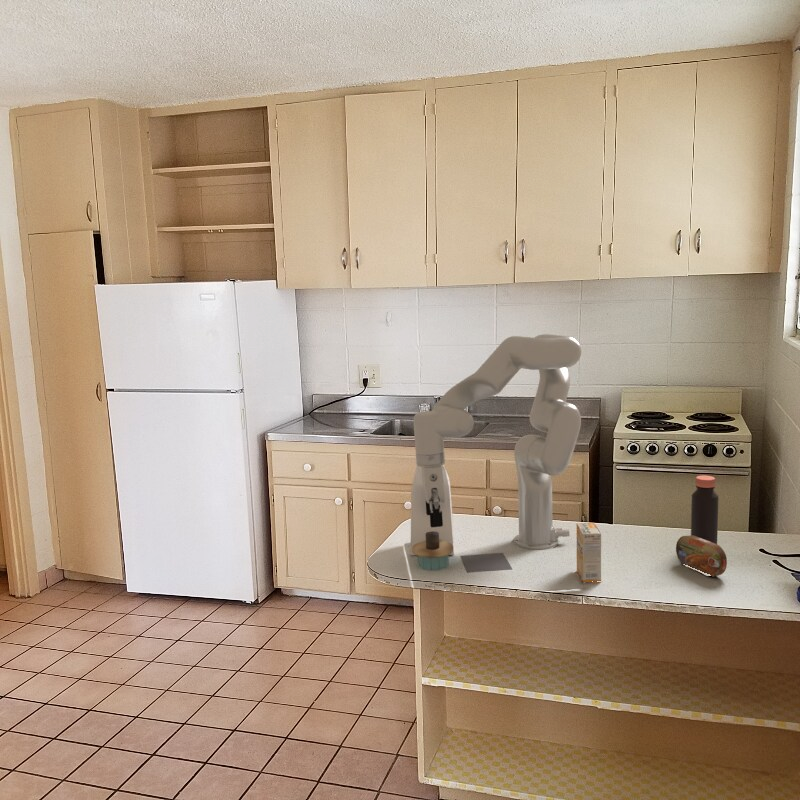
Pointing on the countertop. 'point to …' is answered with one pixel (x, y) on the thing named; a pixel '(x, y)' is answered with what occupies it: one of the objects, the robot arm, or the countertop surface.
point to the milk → (422, 520)
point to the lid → (432, 546)
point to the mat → (485, 562)
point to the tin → (701, 555)
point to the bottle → (705, 509)
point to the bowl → (433, 562)
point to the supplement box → (588, 552)
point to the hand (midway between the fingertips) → (434, 520)
